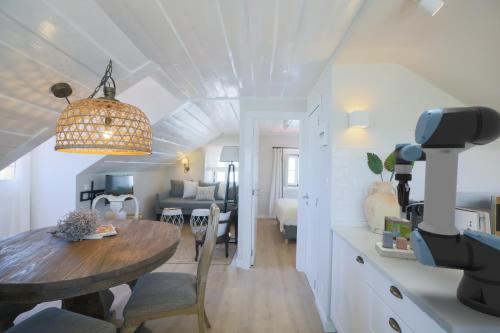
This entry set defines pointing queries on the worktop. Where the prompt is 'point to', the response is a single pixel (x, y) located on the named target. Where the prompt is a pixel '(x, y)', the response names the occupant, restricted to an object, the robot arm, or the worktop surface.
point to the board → (394, 251)
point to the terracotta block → (401, 243)
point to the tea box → (398, 227)
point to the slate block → (387, 239)
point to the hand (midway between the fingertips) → (402, 218)
